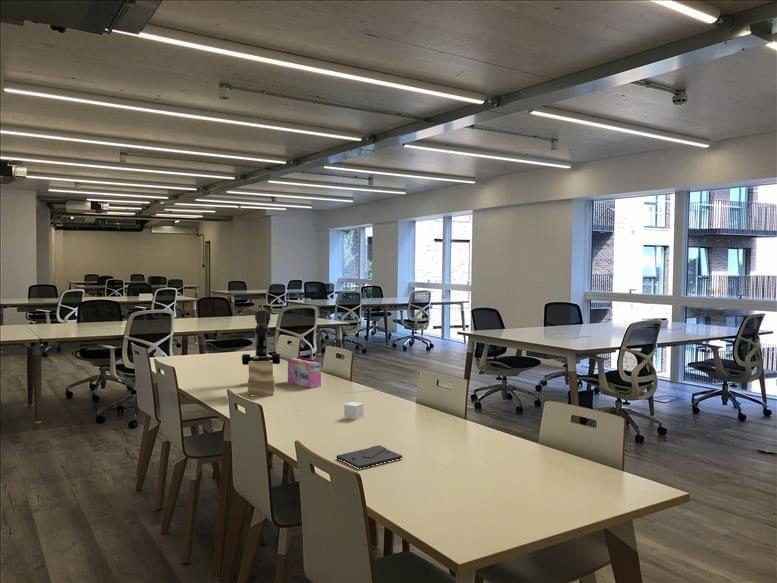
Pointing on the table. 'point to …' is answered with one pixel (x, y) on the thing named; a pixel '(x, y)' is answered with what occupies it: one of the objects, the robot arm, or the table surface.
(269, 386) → the carton
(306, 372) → the gum box
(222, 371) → the table surface
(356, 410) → the white cube
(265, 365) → the flap
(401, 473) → the table surface
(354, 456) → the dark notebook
